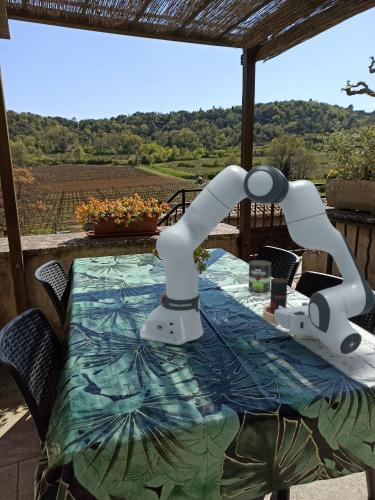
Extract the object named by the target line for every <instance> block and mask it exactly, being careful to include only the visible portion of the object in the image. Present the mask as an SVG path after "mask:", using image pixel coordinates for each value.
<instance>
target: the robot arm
mask: <svg viewBox="0 0 375 500" xmlns="http://www.w3.org/2000/svg"><path fill="white" fill-rule="evenodd" d="M247 198H248V199H249V200H250V201H252V202H254V203H255V204H256V203H257V204H259V205H263V206H264V205H265V206H268V205H275V204H277V205H278V206H279V207H280V209H281V210H282V212H283V215H284V219H285V221H286V227H287V230H288V233H289V236H290V238H291V239H292V241H293V242H294V243H295V244H297V245H298V246H300V247H302V248H305V249H308V250H315V251H316V250H317V251H323V252H326V253H328V254H330V255H331V257H332V258H333V260H334V262H335V264H336V266H337V268H338V271H339V273H340V275H341V277H342V283H340V284H338V285H335V286H332V287H327V288H324V289H321V290H318V291H316V292H314V293H313V294H311V296H310V299H309V301H308V302H307V301H305V302H302V303H301V305H299V306H298V305H297V306H291V307H289V308H285V306H283V305H281V306H278V309H276V310H275V312H274V319H275V321H276V322H277V323H278V325H279V326H281V327H282V328H284V329H287V330H288V331H289V333H290V334H292V335H293V334H300V335H308V336H313V337H315V338H317V339H319V340H318V341H320V343H322V344H323V345H324V346H325V347H327V348H329V349H330V350H332V351H334V352H335V353H337V354H340V355H348V354H351V353H353V352H355V351H356V350H357V349H358V348H359V347H360V345H361V344H362V341H363V340H362V338H363V337H362V335H361V334H360V332H359V331H358V330H357V329H355V328H354V327H353V326H352V324H351V323H350V321H349V318H352V317H356V316H361V315H366V314H368V313H371V312H372V310H373V308H374V306H375V293H374V290H373V288H372V286H370V284H369V282H368V281H367V280H366V278H365V276H364V274H363V272H362V268H361V267H360V266H359V263H358V261H357V258H356V257H355V255H354V254H355V253H354V252H353V250H352V248H351V245H350V243H349V241H348V240H347V238H346V236H345V234H344V233H343V232H342V230H340V229H338V228H336V227H334V226H333V224H332V222H331V221H330V219H329V218H328V215H327V212H326V209H325V208H326V207H325V206H324V203H323V200H322V198H321V196H320V193H319V191H318V189H317V187H316V186H315V184H314V183H313V182H312V181H310V180H309V179H299V180H295V181H289V180H288V179H287V178H286V176H285V175H284V174H283V173H282V172H281V170H279V169H278V168H275V167H273V166H270V165H269V164H268V165H267V164H261V165H257V166H254V167H253V168H251V169H250V170H249V171H247V170H246V169H244V168H242V167H241V166H239V165H235V164H231V165H229V166H227V167H225V168H224V169H222V170H221V171H220V172H219V173H218V174H217V175H215V176H214V177H213V179H211V180H210V182H209V183H207V185H206V186H205V187H204V188H203V189H202V190H201V191H200V192H199V194H198V195H197V196H196V197H195V198H194V200H193V201H192V202H191V203H190V205H189V206H188V208H187V209H186V211H185V212H184V213H183V214H182V216H181V217H180V219H179V220H178V221H177V222H176V223H174V224H172V225H170V226H168V227H167V228H165V229H163V230H162V232H161V233H160V234H159V236H158V237H157V240H156V243H155V246H156V247H155V248H156V251H157V254H158V255H159V257H160V258H161V261H162V264H163V265H162V266H163V269H164V275H165V289H166V290H164V291H163V292H162V294H161V297H160V301H159V302H160V305H159V306H157V307H156V308H154V309H152V311H151V312H150V313H149V314H148V316H147V318H146V322H145V324H144V325H143V326H142V327H141V328H140V330H139V338H140V339H141V340H147V341H152V342H158V343H165V344H170V345H177V346H181V345H184V344H185V343H187V342H191V341H195V340H197V339H200V337H202V336H203V335H204V328H203V325H202V322H201V320H202V319H201V314H200V309H201V298H200V297H201V296H200V293H199V274H198V270H197V268H196V264H195V259H194V258H195V257H194V251H195V250H196V249H198V247H199V246H200V245H201V244H202V243H203V242H204V240H205V239H207V237H208V236H209V235H210V234H211V233H212V232H213V231H214V230H215V229H216V227H218V225H219V224H220V223H221V222H222V221H223V220H224V219H225V218H226V217H227V215H229V214H230V213H231V211H232V210H233V209H234V208H236V206H237V205H238V204H239V203H240V202H241V201H242V200H244V199H247ZM277 323H276V324H277Z"/></svg>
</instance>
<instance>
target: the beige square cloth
mask: <svg viewBox="0 0 375 500" xmlns="http://www.w3.org/2000/svg"><path fill="white" fill-rule="evenodd" d="M292 335H293V339H295V340H297V339H298V340H311V339H317V338H315V337H313V336H308V335H300V334H292ZM317 341H320V340H319V339H318V340H317Z"/></svg>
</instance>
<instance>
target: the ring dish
mask: <svg viewBox="0 0 375 500" xmlns="http://www.w3.org/2000/svg"><path fill="white" fill-rule="evenodd" d="M286 308H290V306H286ZM262 309H263V310H262V315H263V316H262V318H263V320H264V321H267V322H269V323H271V324H278V323H277V322H276V321H275V319H274V315H273V314H271V313H270V304H269V305H266V306H263V308H262ZM278 325H279V324H278Z"/></svg>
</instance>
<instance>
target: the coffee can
mask: <svg viewBox="0 0 375 500" xmlns="http://www.w3.org/2000/svg"><path fill="white" fill-rule="evenodd" d="M271 273H272V262H270V261H268V260H263V259H262V260H260V259H257V260H256V259H255V260H254V259H253V260H250V261H249V262H248V293H250V294H252V295H257V296H263V295H264V296H265V295H266V296H267V295H269V294H271V279H272V277H271V276H272V274H271Z"/></svg>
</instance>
